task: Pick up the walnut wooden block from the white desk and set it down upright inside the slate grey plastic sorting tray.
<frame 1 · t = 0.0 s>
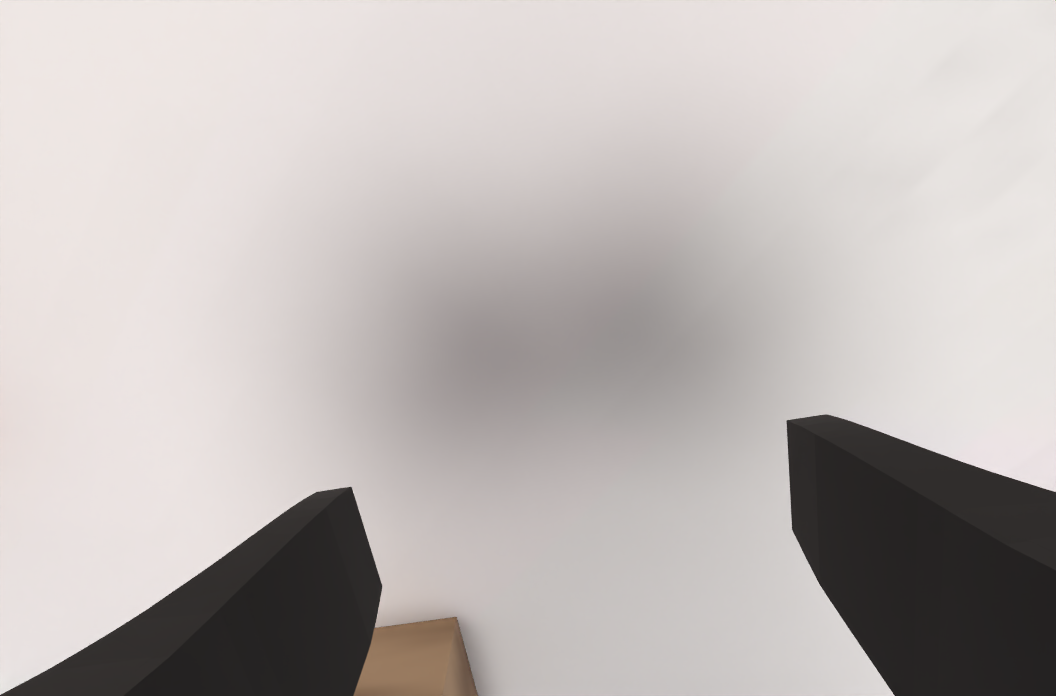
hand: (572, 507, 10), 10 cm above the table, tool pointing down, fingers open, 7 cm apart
walnut block: (414, 668, 24), on the table
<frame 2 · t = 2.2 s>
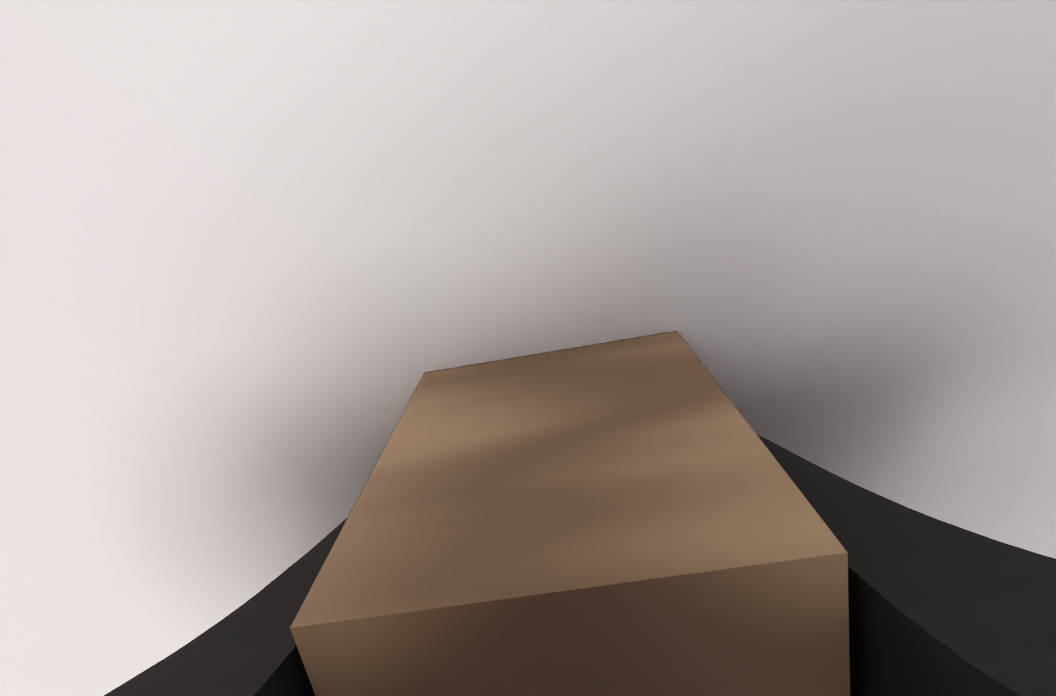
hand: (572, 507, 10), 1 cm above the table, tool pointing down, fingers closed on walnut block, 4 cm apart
walnut block: (568, 464, 11), on the table, touching gripper
when the fingers open (3 cm above the table, at t = 5.8 s): walnut block stays where it is, resting on sorting tray.
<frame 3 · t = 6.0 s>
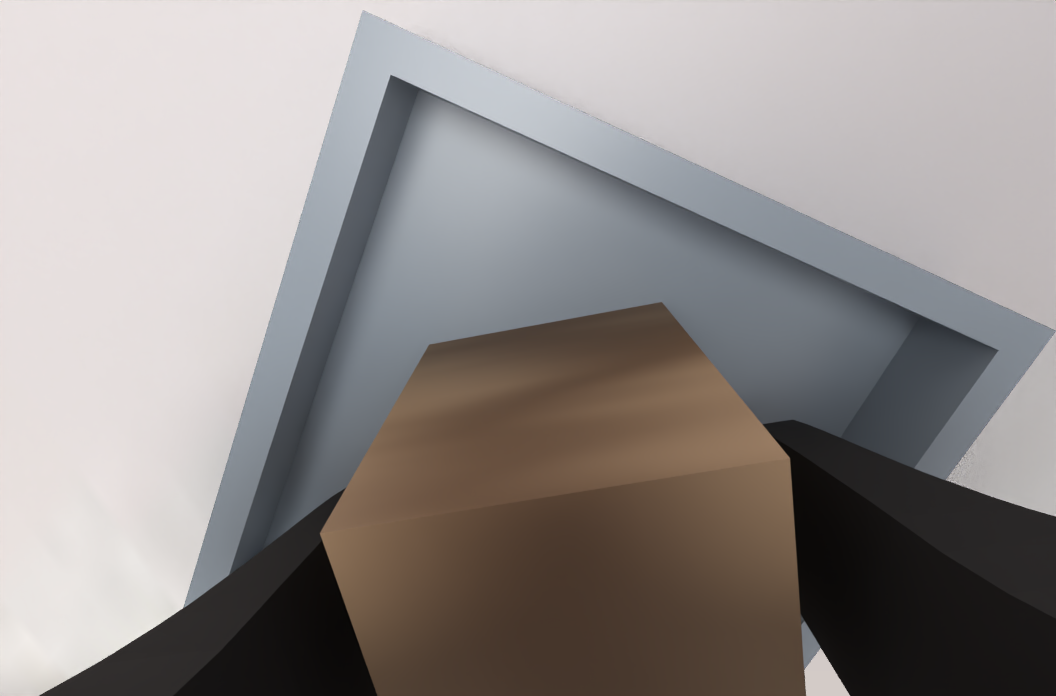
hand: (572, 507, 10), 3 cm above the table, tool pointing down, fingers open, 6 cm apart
walnut block: (564, 429, 12), resting on sorting tray
sorting tray: (565, 429, 13), on the table
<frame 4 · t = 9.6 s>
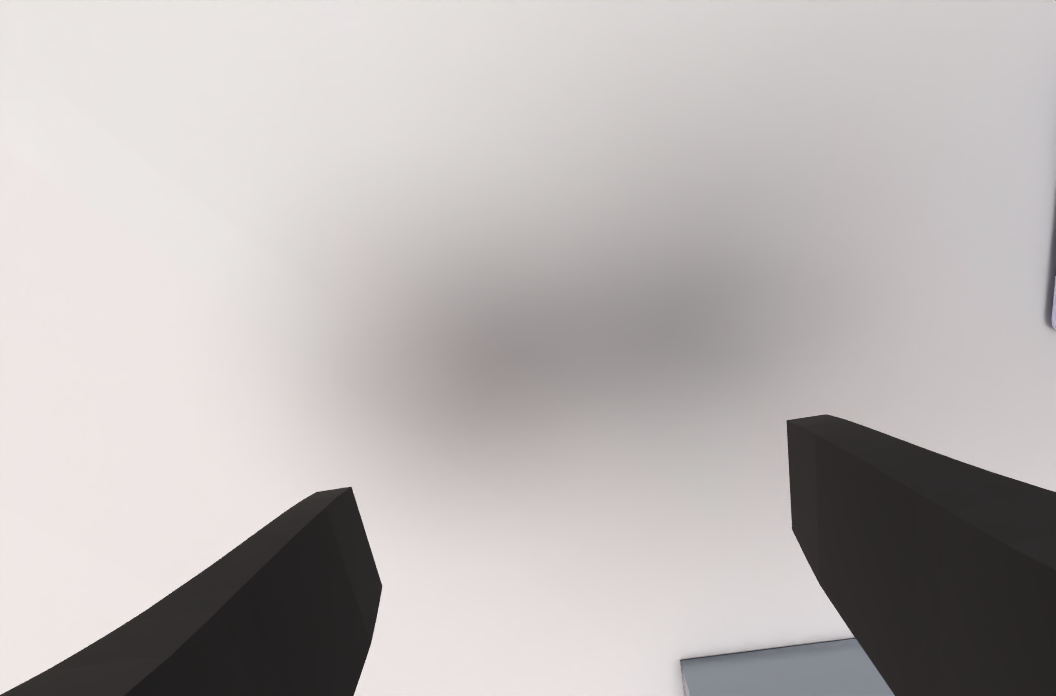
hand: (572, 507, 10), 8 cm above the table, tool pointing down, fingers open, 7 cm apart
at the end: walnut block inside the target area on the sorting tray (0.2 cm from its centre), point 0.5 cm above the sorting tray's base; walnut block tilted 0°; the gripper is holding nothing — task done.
